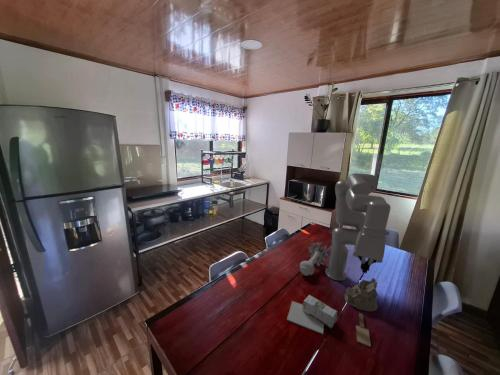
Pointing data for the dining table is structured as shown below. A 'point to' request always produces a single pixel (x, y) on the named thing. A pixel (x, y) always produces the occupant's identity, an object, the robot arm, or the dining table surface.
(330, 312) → the syrup box
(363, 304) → the ceramic cottage
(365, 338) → the turner
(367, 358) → the dining table surface
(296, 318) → the mat
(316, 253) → the flower vase
